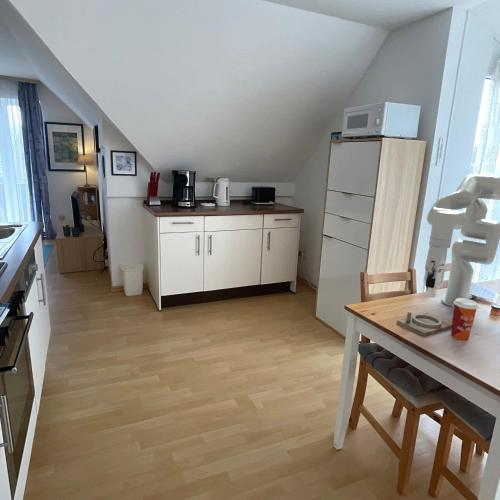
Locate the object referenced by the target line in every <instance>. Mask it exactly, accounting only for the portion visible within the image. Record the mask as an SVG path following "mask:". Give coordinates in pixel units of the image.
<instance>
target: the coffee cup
mask: <svg viewBox="0 0 500 500" xmlns="http://www.w3.org/2000/svg"><path fill="white" fill-rule="evenodd" d="M478 309H479V306H478V303H477V302H476V301H475V300H471V299H470V298H469V299H465V298H457V299H456V300H455V301H454V307H453V313H452V321H451V322H452V328H451V329H450V331H451V332H450V336H451V337H452V338H453V339H455V340H458V341H462V342H463V341H465V342H466V341H468V340H469V338H470V334H471V330H472V328H473V325H474V320H475V317H476V312H477V310H478Z"/></svg>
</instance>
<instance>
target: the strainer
mask: <svg viewBox="0 0 500 500" xmlns="http://www.w3.org/2000/svg"><path fill="white" fill-rule="evenodd" d="M433 268H435V266H434V267H433ZM446 268H447V264H446V263H445V264H444V266H440V268H439V269H442V270H441V271H438V272H436V276H435V285H434V288H430V287H427V291H426V297H429V298H435V297H436V292H437V291H436V290H437V288H438V287H442V286H444V285H443V284H444V279H445V272H446ZM424 270H425V271H424V275H423V280H422V281H423V283H424V284H426V278H427V273H428V270H426V269H425V268H424ZM432 270H434V269H432ZM434 271H435V270H434ZM432 273H433V274H434V272H432Z"/></svg>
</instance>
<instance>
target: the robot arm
mask: <svg viewBox="0 0 500 500" xmlns="http://www.w3.org/2000/svg"><path fill="white" fill-rule="evenodd" d="M483 199H485V200H493V201H494V200H496V201H498V200H499V201H500V176H498V175H494V174H476V173H475V174H468V175H467V176H466V177H464V178H463V180H462V181H461V182H460V184H459V186H458V187H457V189H456V191H455V192H453V193H450V194H448V195H445V196H443V197H440V198H439V199H438V200H436V201H435V202H434V203H433V205H432V206H431V208H430V209H429V211H428V213H427V218H426V221H427V223H428V224H429V225H430V226H431V229H430V230H431V231H430V236H429V242H428V246H429V249H428V252H427V257H426V261H425V266H424V270H425V269H426V270H428V273H427V278H426V284H425V283H424V284H425V285H424V286H425V287H426V288H428V287H430V288H434V285H435V276H436V272H438V271H441V270H442V269H439V268H440V266H444V264H446V262H447V261H446V260H447V256H448V255H447V253H448V249H450V248H451V264H450V269H449V275H448V279H447V280H448V282H447V287H446V292H445V296H442V297H441V299H440V301H441V303H443V304H445V305H446V306H449V307H452V308H454V301H455V300H456V299H457V298H465V299H469V300H470V299H472V298H473V295H472V294H470V291H471V286H472V280H473V275H474V269H473V266H472V264H471V263H474V264H478V265H479V264H480V265H485V266H486V265H487V266H489V265H492V263H493V262H494V260H495V258H496V254H497V251H498V246H499V245H500V222H499V221H497V220H491V219H486V218H487V213H488V207H487V204H486V203H485V201H484V200H483ZM461 209H462V210H463V209H465V212H464V211H462V210H461ZM454 230H460V235H461V236H463V237H465V238H467V239H459V240H456V241H455V242H454V243H453V244H452V239H453V232H454ZM468 239H474V240H480V241H484V242H478V241H473V240H468ZM451 244H452V246H451ZM434 266H435V268H433V267H434ZM432 269H434V270H435V271H434V270H432ZM432 272H434V274H433V273H432Z"/></svg>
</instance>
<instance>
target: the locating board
mask: <svg viewBox="0 0 500 500" xmlns="http://www.w3.org/2000/svg"><path fill="white" fill-rule="evenodd" d="M396 324H397V325H400V326H401V327H404V328H406V329H408V330H410V331H412V332H414V333H416V334H418V335H420V336H422V337H427V336H431V335H434V334H438V333H441V332H444V331H447V330H448V331H449V330H451V329H452V321H450V320H448V319H445V318H443V317H441V316H439V315H435V314H433V313H431V312H423V313H414V314H413V315H412V311H407V313H406V317H404V318H401V319H397V321H396Z"/></svg>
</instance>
